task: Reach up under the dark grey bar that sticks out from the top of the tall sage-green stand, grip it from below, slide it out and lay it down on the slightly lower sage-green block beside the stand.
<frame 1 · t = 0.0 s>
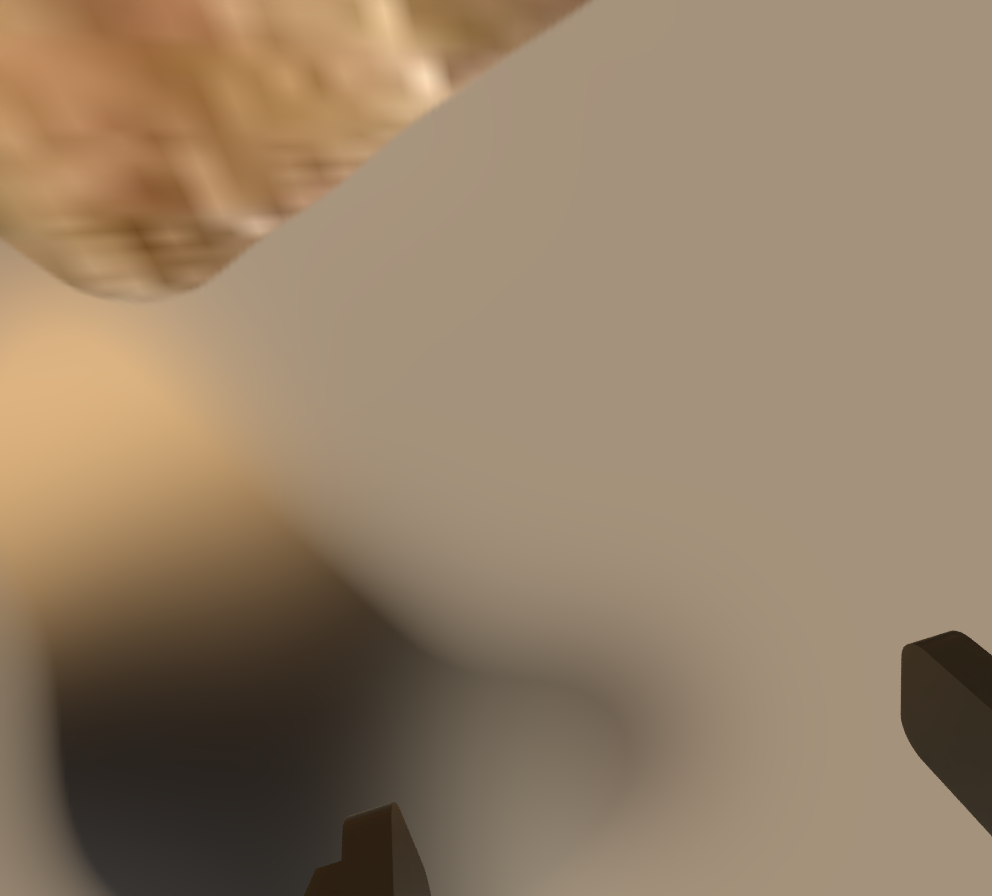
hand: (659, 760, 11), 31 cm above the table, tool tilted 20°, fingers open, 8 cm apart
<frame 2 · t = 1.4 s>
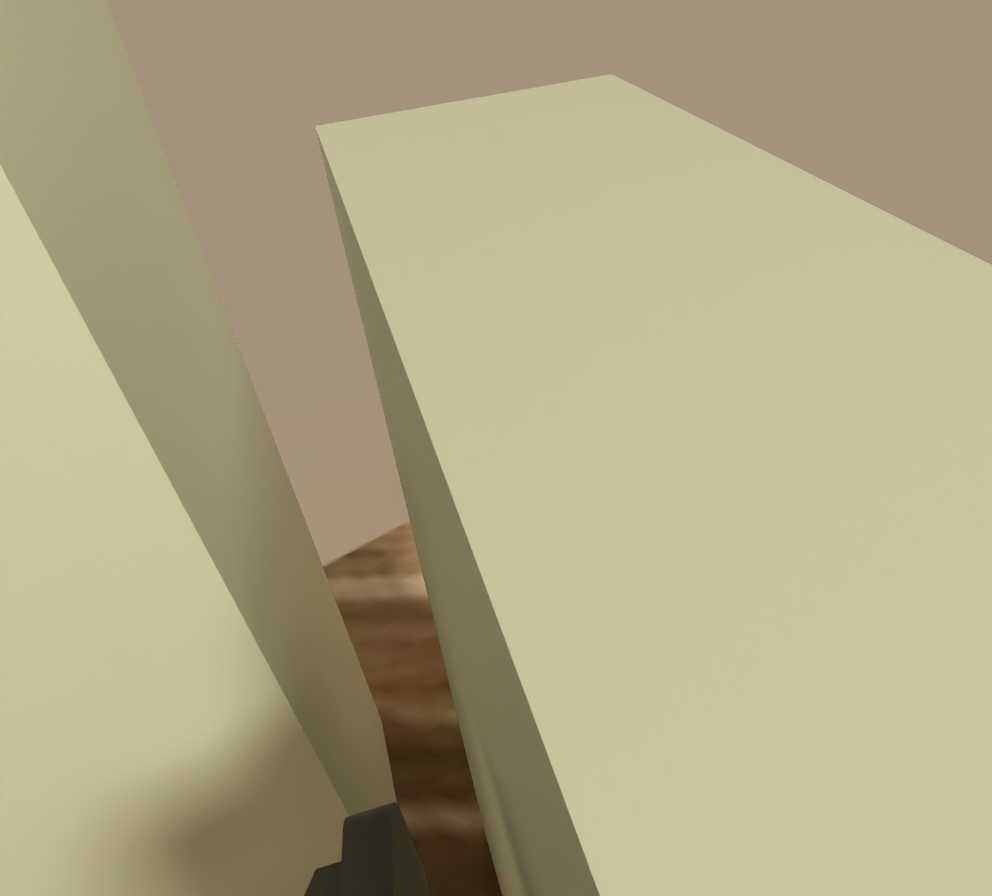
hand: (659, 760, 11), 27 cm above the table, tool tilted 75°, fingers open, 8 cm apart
stand: (304, 859, 35), on the table
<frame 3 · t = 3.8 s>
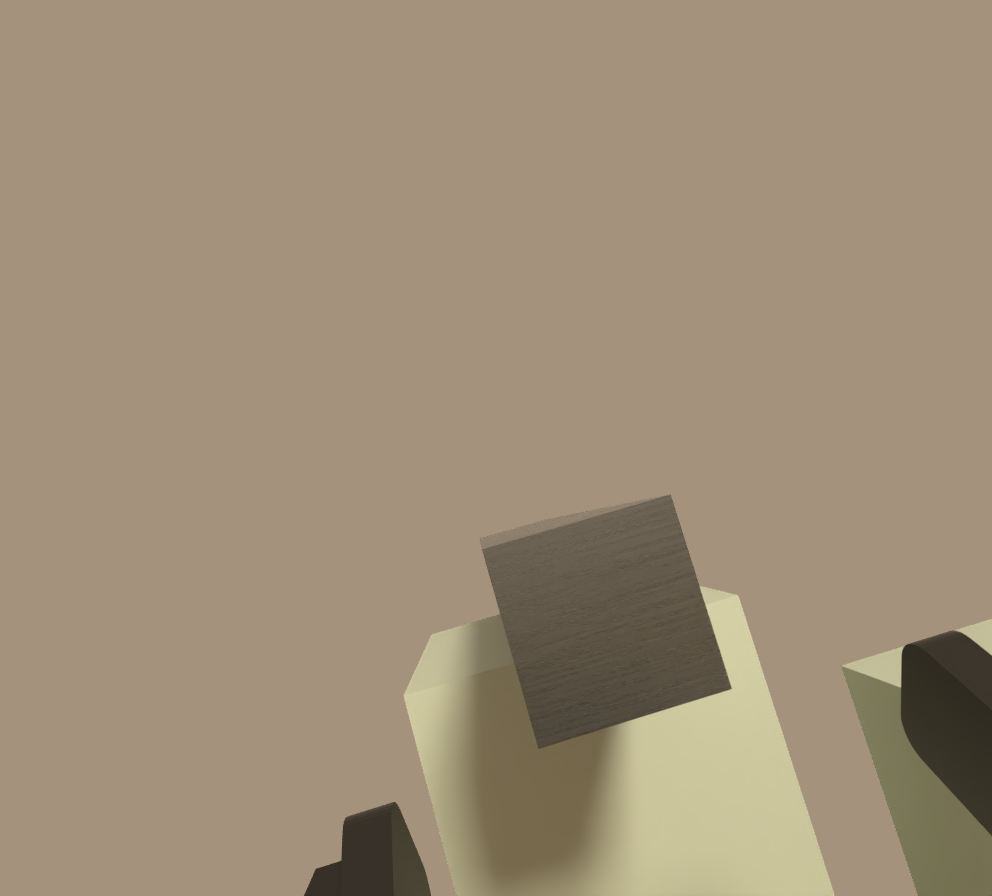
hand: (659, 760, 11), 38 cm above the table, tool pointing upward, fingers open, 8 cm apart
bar: (557, 626, 24), point 38 cm above the table, touching stand
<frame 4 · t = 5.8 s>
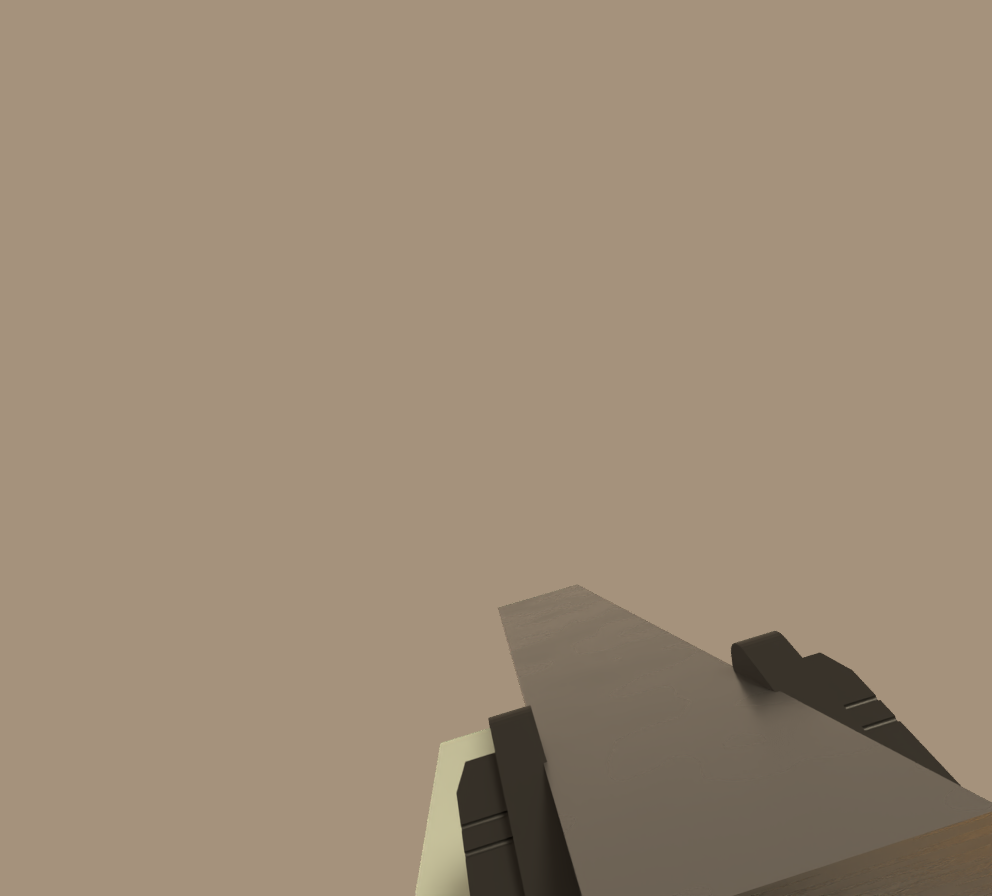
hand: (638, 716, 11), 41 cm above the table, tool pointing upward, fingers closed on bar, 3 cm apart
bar: (620, 780, 17), point 38 cm above the table, touching gripper, stand
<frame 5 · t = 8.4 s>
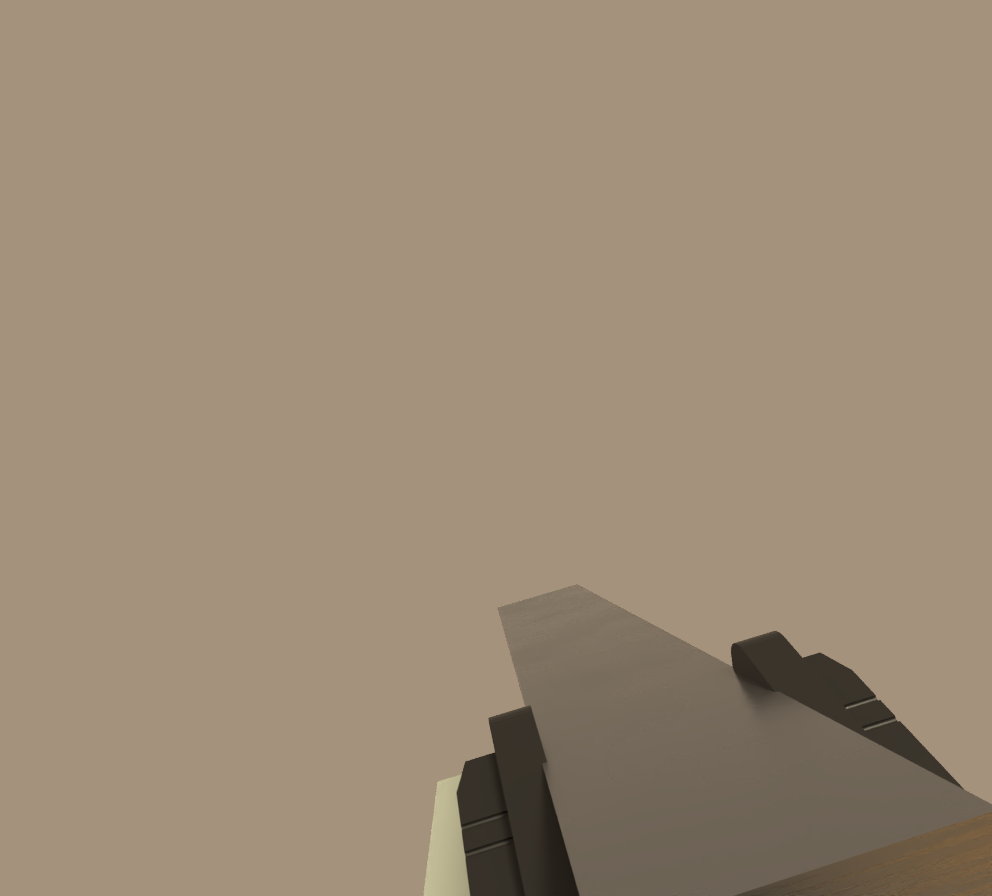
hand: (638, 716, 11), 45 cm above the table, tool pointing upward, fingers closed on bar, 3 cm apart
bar: (620, 780, 17), point 42 cm above the table, touching gripper
when the fingers open (38 cm above the table, at t = 11.0 s): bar stays where it is, resting on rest.
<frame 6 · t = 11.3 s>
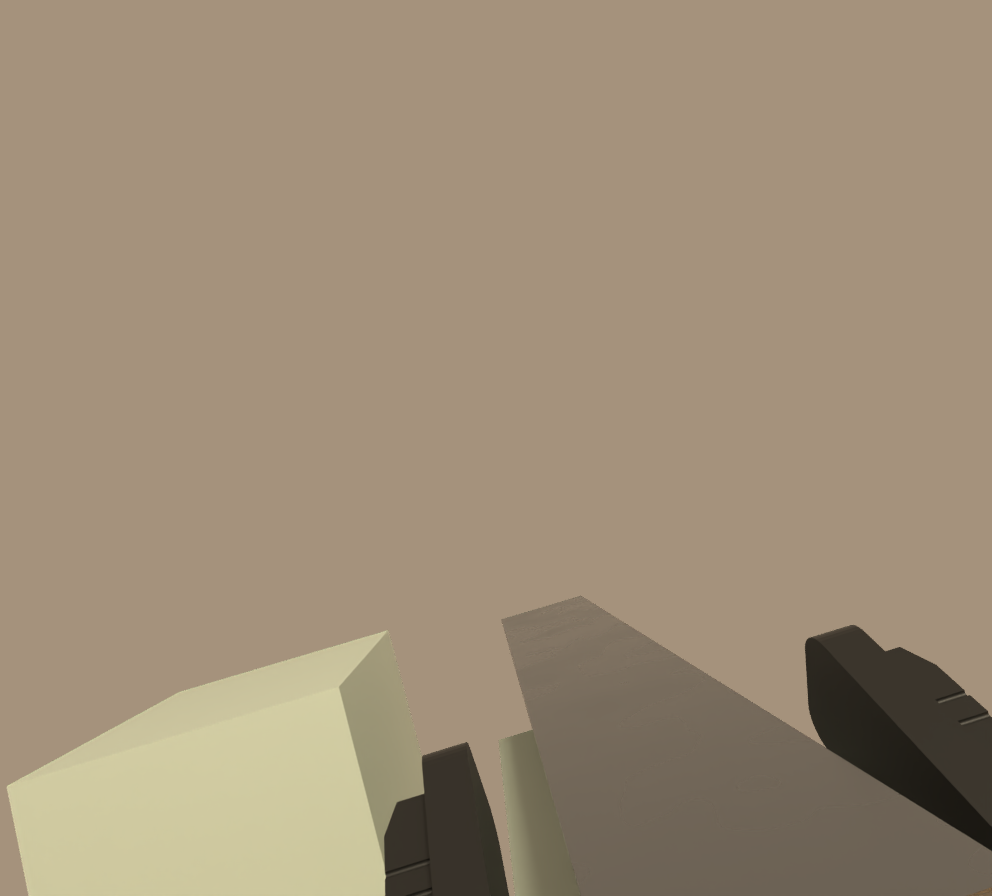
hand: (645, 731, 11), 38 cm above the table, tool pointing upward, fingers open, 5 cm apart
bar: (627, 802, 17), point 34 cm above the table, touching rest
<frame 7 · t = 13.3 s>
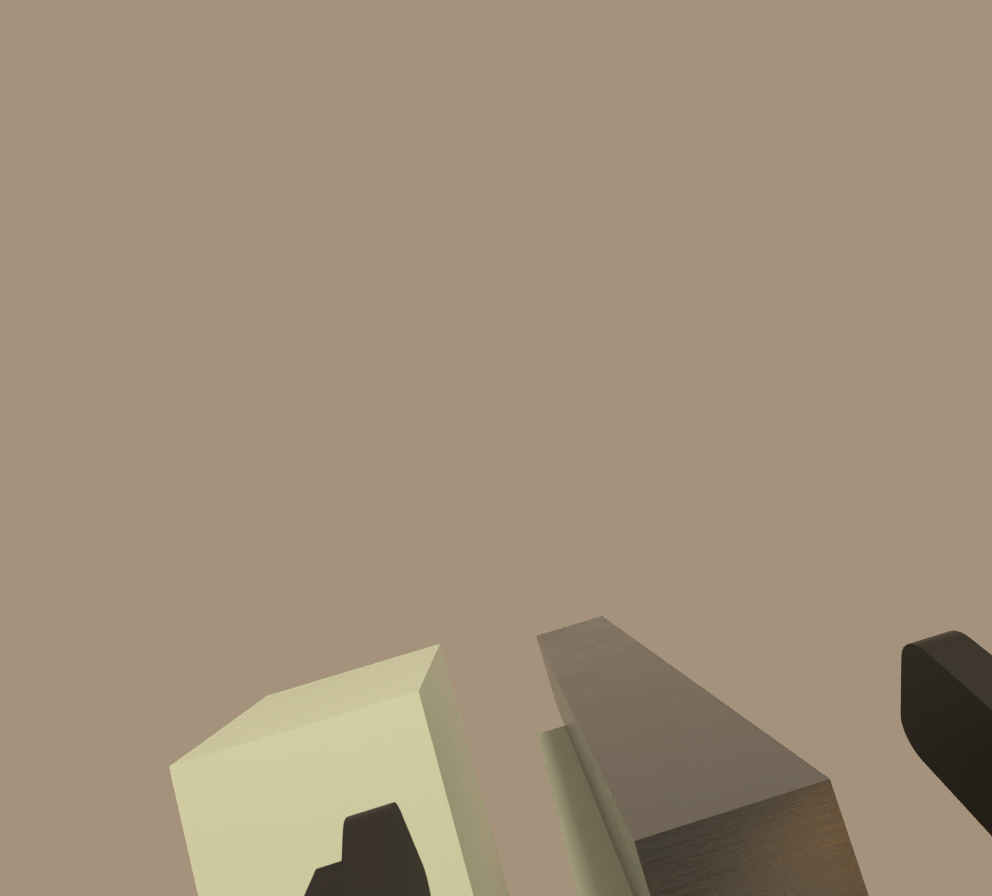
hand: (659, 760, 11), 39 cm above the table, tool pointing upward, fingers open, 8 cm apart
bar: (641, 775, 23), point 34 cm above the table, touching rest
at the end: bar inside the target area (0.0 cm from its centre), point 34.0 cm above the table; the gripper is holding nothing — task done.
